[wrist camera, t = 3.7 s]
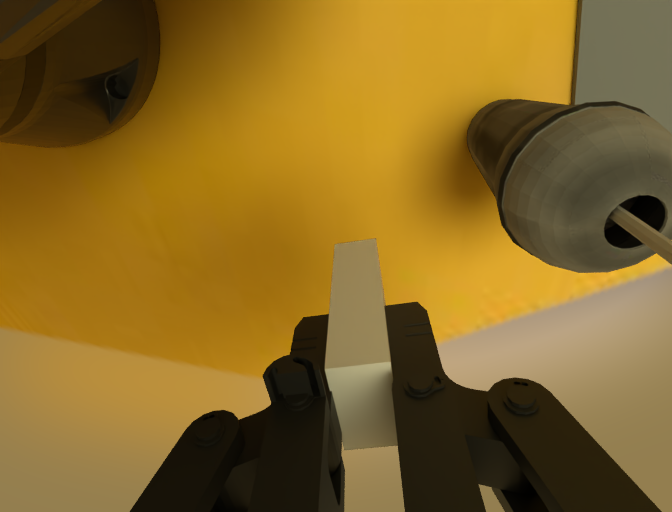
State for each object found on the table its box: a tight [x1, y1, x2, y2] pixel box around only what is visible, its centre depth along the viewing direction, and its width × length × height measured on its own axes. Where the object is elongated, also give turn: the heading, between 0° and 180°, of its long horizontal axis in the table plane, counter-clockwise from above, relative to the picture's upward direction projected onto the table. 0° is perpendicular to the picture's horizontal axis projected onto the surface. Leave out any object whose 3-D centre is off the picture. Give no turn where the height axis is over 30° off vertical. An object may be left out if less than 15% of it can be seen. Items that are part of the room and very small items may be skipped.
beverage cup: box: [467, 99, 672, 273], centre depth 20 cm, size 7×7×20 cm
